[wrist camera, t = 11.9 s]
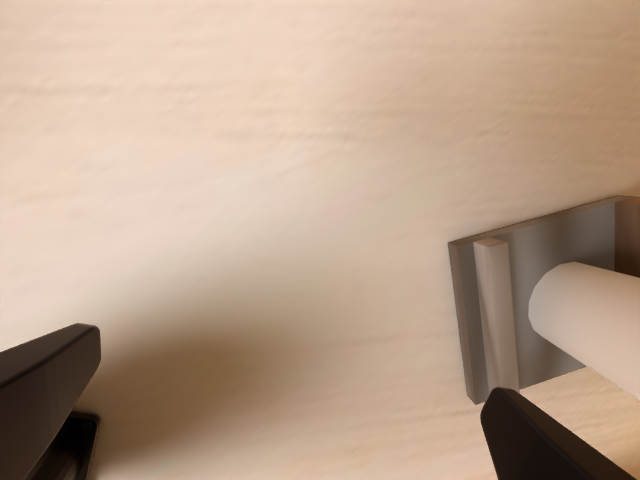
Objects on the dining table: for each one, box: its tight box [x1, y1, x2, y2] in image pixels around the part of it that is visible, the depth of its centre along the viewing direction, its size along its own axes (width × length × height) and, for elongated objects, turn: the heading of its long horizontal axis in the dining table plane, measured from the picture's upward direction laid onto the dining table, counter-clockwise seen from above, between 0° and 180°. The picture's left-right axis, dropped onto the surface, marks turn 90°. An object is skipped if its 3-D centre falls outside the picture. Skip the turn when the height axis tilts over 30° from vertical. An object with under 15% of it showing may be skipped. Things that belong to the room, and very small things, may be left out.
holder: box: [448, 196, 640, 405], centre depth 19 cm, size 13×12×8 cm
